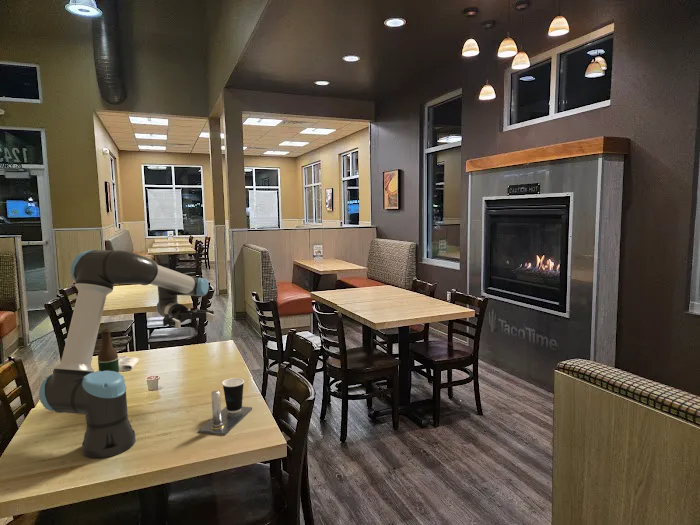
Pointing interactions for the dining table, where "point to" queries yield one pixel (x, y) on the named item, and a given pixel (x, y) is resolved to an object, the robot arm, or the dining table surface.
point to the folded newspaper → (127, 363)
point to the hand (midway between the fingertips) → (197, 321)
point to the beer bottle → (107, 354)
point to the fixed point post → (216, 410)
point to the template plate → (225, 421)
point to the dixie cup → (233, 394)
